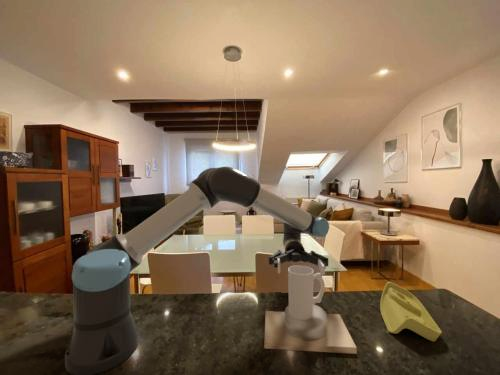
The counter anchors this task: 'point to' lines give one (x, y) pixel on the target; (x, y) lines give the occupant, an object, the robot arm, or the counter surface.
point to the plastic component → (406, 313)
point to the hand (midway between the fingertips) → (301, 270)
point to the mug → (303, 291)
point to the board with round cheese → (307, 332)
